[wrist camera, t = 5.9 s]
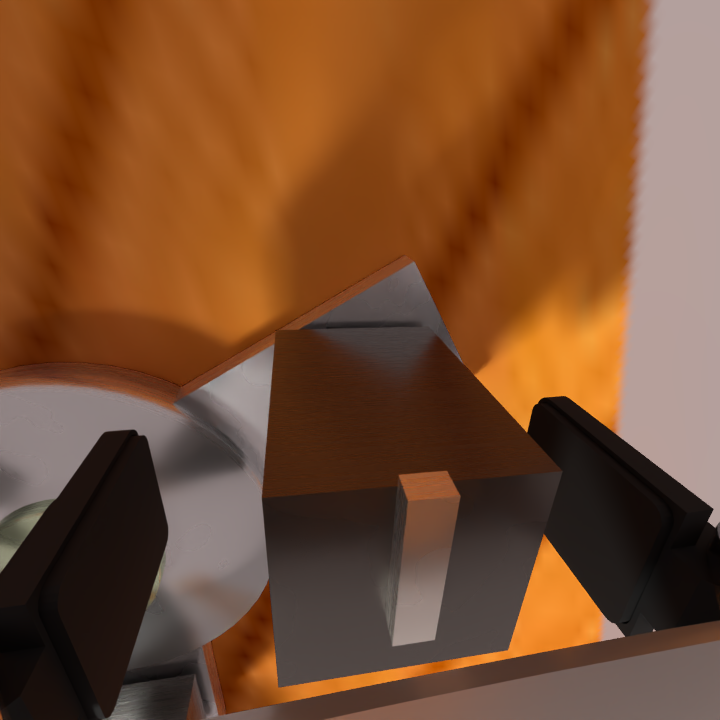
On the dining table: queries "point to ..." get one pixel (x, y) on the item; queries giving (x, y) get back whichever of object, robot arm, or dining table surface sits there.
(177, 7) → the dining table surface
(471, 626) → the knob
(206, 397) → the tribrach base
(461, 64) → the dining table surface
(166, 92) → the dining table surface
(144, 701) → the knob
